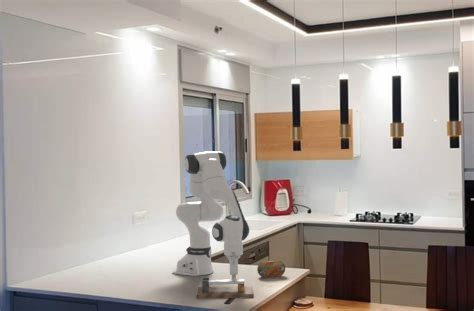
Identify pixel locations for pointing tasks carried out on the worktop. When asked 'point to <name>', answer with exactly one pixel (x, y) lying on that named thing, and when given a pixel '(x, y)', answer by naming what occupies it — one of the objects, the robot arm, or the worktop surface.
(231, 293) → the latch base
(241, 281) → the latch lever
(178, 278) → the worktop surface
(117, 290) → the worktop surface
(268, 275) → the tin
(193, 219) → the robot arm
